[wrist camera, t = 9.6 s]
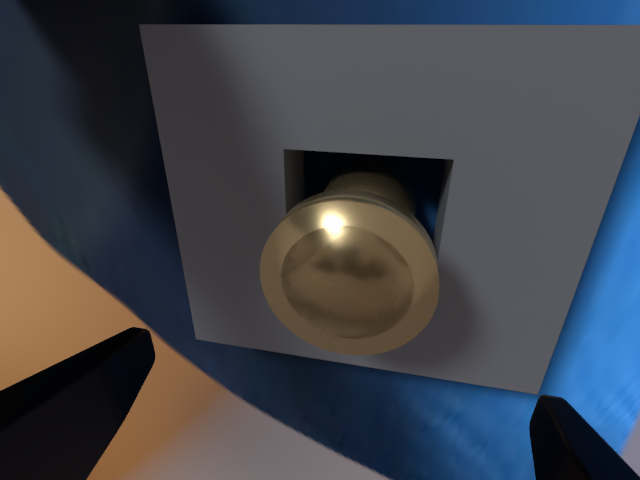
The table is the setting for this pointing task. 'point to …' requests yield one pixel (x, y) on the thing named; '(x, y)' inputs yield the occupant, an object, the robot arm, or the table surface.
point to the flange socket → (409, 141)
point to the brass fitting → (353, 263)
